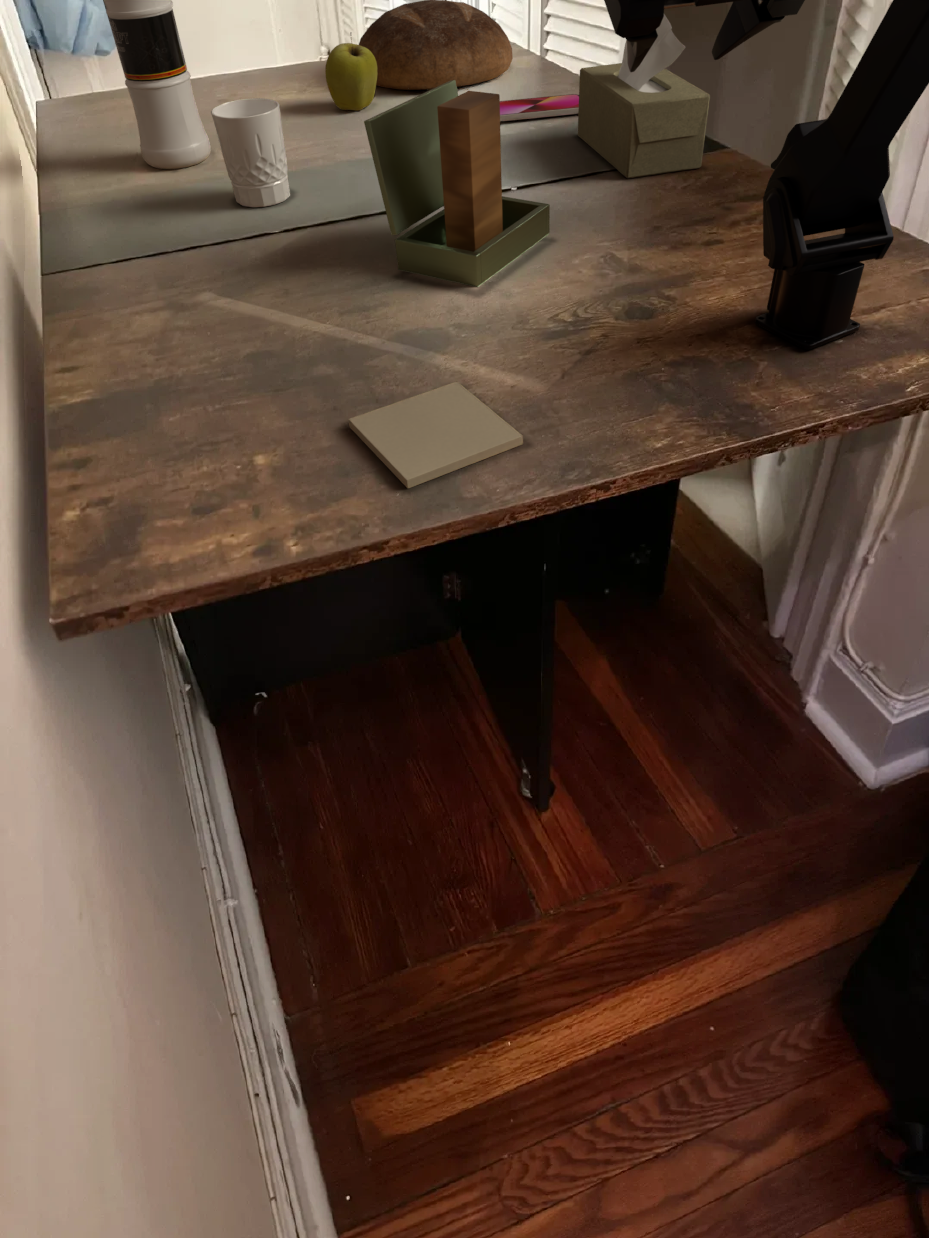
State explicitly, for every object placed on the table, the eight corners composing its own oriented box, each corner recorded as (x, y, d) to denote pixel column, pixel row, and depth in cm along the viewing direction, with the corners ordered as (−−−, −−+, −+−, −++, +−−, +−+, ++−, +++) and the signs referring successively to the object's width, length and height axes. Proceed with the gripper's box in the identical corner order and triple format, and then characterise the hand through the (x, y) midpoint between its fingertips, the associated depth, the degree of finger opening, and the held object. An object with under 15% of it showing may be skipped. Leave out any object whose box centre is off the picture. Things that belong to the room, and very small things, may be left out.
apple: (316, 98, 136) (325, 23, 130) (366, 108, 139) (377, 35, 133) (326, 111, 130) (335, 34, 124) (377, 122, 133) (389, 46, 127)
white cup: (218, 205, 108) (196, 114, 101) (257, 183, 112) (239, 95, 105) (270, 213, 105) (251, 120, 98) (307, 191, 110) (292, 101, 103)
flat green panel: (455, 80, 89) (450, 80, 89) (369, 120, 80) (363, 121, 81) (474, 187, 95) (469, 187, 96) (396, 235, 87) (391, 235, 87)
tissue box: (702, 169, 107) (722, 15, 96) (627, 180, 106) (638, 25, 95) (644, 126, 121) (655, -14, 109) (576, 135, 119) (581, -5, 108)
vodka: (202, 170, 118) (130, -122, 96) (136, 172, 118) (49, -116, 97) (220, 147, 124) (156, -130, 103) (157, 150, 125) (80, -125, 104)
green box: (549, 240, 94) (549, 204, 92) (477, 294, 86) (476, 256, 83) (474, 226, 98) (472, 191, 96) (398, 277, 90) (394, 239, 87)
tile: (523, 444, 67) (523, 435, 66) (407, 489, 64) (406, 480, 63) (457, 389, 73) (457, 381, 73) (349, 427, 70) (348, 418, 69)
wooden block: (503, 244, 92) (499, 94, 83) (475, 263, 89) (468, 110, 79) (475, 238, 94) (468, 90, 84) (447, 257, 91) (436, 106, 81)
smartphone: (592, 106, 125) (489, 116, 124) (592, 114, 126) (489, 124, 124) (578, 93, 130) (479, 103, 129) (577, 100, 131) (479, 110, 130)
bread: (374, 104, 135) (366, 29, 129) (345, 65, 154) (336, -3, 147) (534, 82, 139) (534, 8, 133) (486, 47, 158) (484, -20, 151)
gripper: (808, -178, 76) (731, -16, 91) (607, -159, 72) (563, 5, 88) (851, -71, 74) (765, 76, 89) (647, -47, 71) (595, 101, 86)
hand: (672, 62), depth 88 cm, fingers open, 9 cm apart
